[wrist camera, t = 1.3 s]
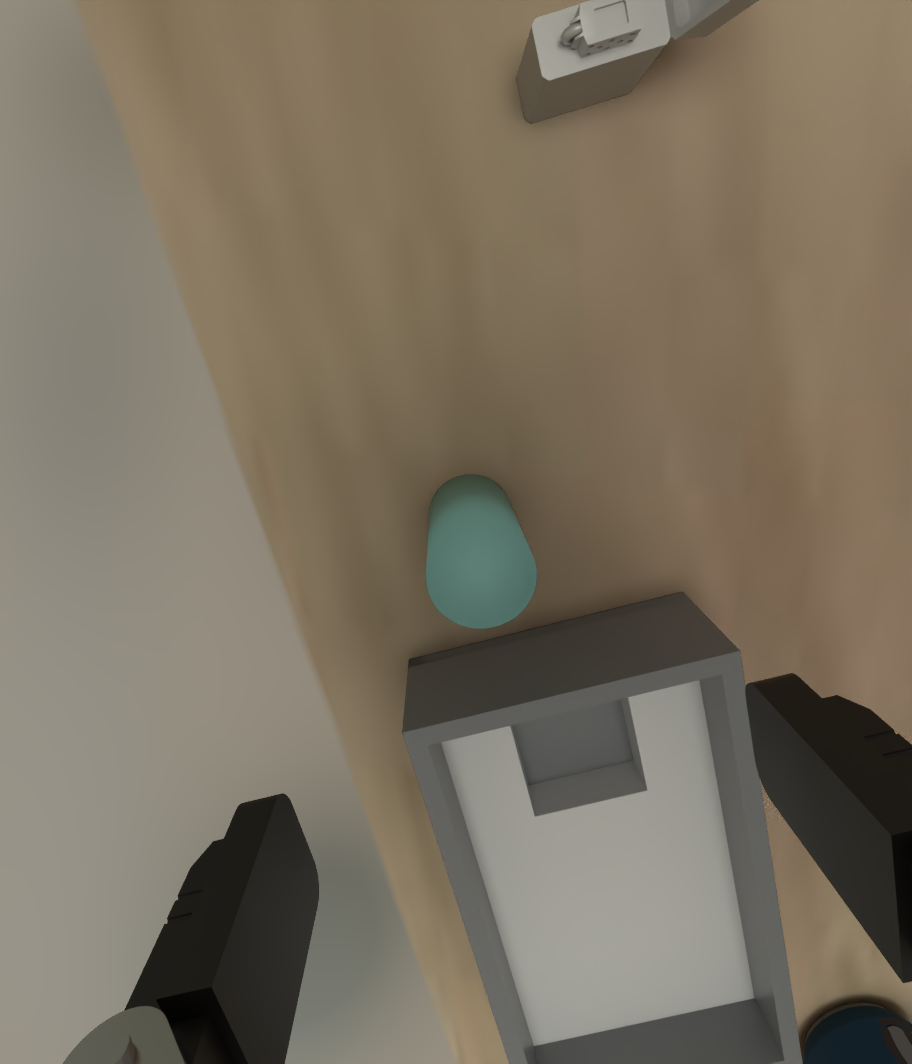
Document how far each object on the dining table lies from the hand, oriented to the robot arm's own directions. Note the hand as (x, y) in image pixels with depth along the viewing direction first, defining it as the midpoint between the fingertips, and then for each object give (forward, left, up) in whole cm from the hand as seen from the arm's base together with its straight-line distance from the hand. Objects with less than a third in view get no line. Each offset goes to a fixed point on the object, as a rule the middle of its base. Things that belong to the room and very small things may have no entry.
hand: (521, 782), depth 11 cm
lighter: (+5, -17, -19) cm, 26 cm away
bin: (-14, +10, -18) cm, 25 cm away
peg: (0, 0, -18) cm, 18 cm away
